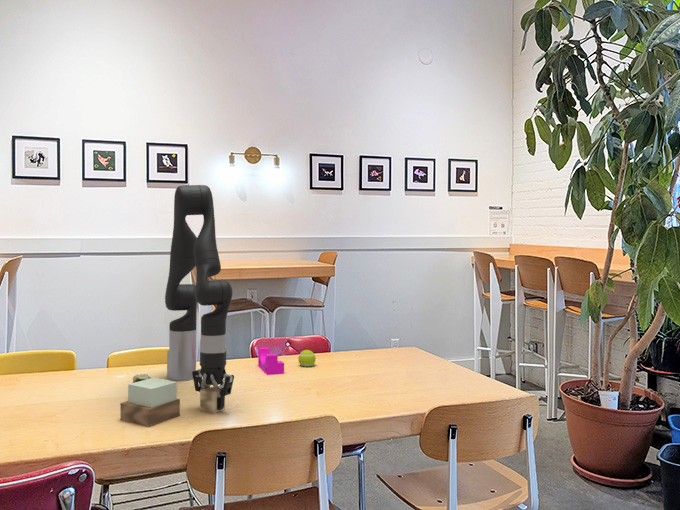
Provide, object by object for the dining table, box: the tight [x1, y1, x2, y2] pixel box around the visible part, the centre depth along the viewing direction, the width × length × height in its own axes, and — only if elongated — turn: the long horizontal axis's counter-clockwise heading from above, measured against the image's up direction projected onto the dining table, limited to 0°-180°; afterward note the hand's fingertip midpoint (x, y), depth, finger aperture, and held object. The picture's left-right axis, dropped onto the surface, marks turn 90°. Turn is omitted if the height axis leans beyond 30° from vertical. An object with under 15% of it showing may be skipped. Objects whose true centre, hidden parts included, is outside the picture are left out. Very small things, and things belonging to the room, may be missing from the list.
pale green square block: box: [127, 377, 178, 408], centre depth 159 cm, size 9×9×5 cm
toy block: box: [257, 347, 285, 376], centre depth 216 cm, size 15×6×8 cm, turn 21°
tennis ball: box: [297, 349, 316, 368], centre depth 223 cm, size 7×7×7 cm
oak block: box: [199, 386, 226, 415], centre depth 166 cm, size 5×5×6 cm
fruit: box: [132, 373, 152, 383], centre depth 177 cm, size 9×9×8 cm
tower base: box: [119, 398, 181, 428], centre depth 159 cm, size 11×11×5 cm
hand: (212, 407), depth 167 cm, fingers closed on oak block, 5 cm apart
